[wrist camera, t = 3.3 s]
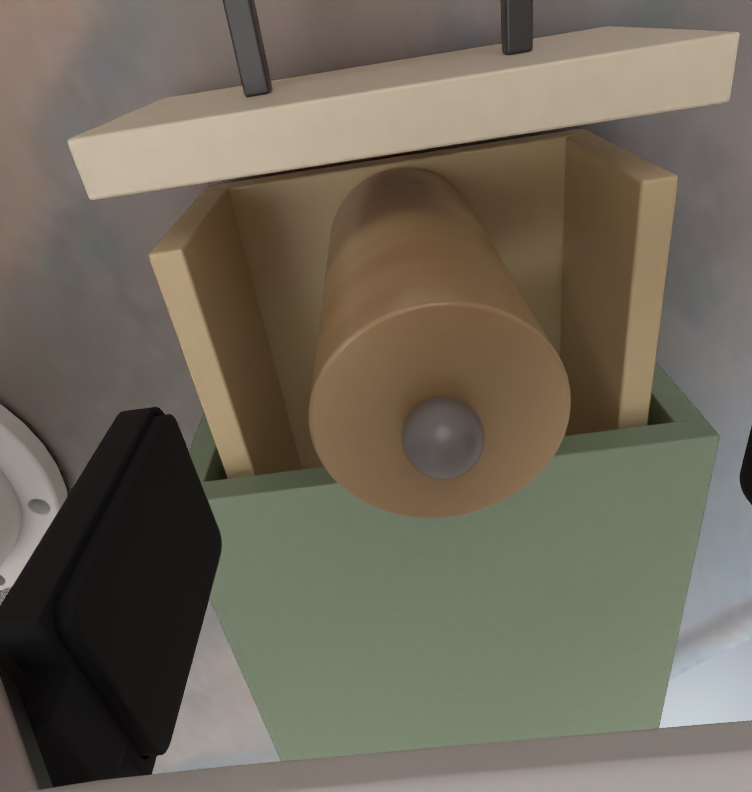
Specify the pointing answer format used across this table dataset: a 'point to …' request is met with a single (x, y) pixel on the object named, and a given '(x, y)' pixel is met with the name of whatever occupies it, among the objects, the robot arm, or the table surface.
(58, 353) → the table surface
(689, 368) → the table surface
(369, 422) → the pepper mill
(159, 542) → the robot arm
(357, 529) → the cabinet
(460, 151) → the drawer
